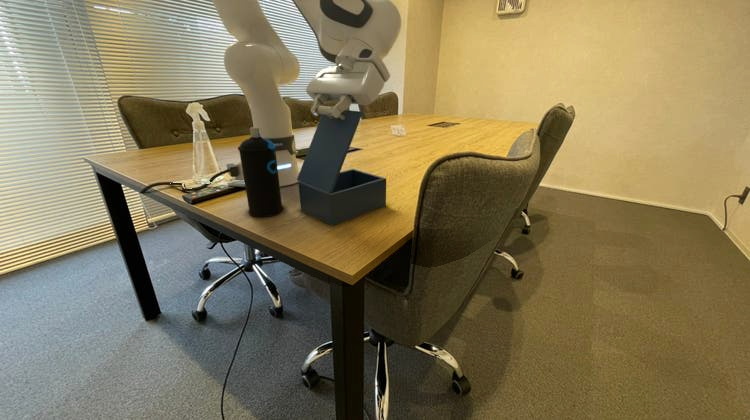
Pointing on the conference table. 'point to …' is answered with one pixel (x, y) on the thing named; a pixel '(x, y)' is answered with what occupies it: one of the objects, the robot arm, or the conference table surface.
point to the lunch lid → (329, 148)
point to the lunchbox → (344, 197)
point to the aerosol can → (260, 175)
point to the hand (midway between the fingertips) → (323, 114)
